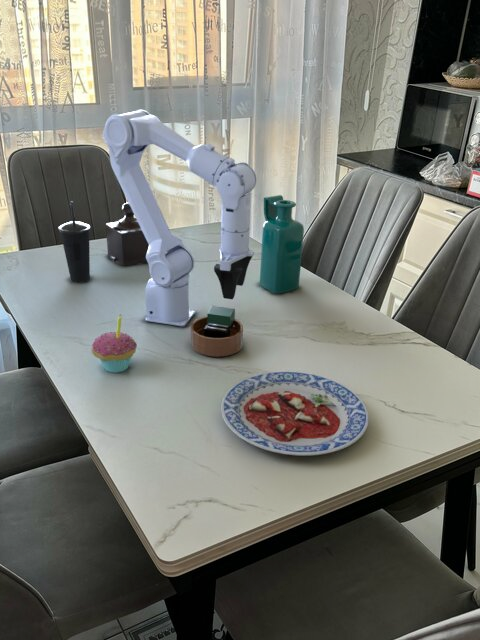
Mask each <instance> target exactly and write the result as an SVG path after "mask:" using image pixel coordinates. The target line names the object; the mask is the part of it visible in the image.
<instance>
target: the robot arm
mask: <svg viewBox="0 0 480 640" xmlns="http://www.w3.org/2000/svg"><path fill="white" fill-rule="evenodd" d="M101 135H102V138H103V140H104V143H105V145H106V147H107V149H108V154H109V160H110V161H109V162H110V166H111V168H112V171H113V173H114V175H115V177H116V180H117V181H118V183H119V185H120V188H121V190H122V192H123V194H124V196H125V198H126V200H128V202H129V204H130V206H131V209H132V211H133V213H134V218H135V217H136V219H137V221H138V223H139V225H140V227H141V229H142V232H143V234H144V236H145V238H146V240H147V242H148V244H149V248H148V251H147V254H146V259H147V264H148V271H149V275H150V278H149V279H148V281H147V283H146V285H145V291H144V292H145V294H144V295H145V297H144V298H145V312H146V313H145V314H146V317H145V319H144V320H145V321H146V322H151V323H156V324H165V325H170V326H176V327H177V326H178V327H185V326H187V324H188V323H189V321H190V320H191V319H192V318H193V316H194V315H195V314H196V311H195V310H192V309H190V290H189V288H190V287H189V285H190V284H189V283H190V281H189V278H190V273H191V272H192V271H193V269H194V267H195V258H194V256H193V254H192V253H191V251H190V250H189V249H188V248H187V247H186V246H185V244H184V243H183V240H182V239H180V238H179V237H177V236H175V235H174V234H172V232H171V230H170V228H169V225H168V223H167V222H166V218H165V217H164V215H163V212H162V210H161V208H160V206H159V204H158V201H157V200H156V198H155V195H154V193H153V191H152V189H151V187H150V185H149V182H148V181H147V178H146V175H145V173H144V171H143V170H142V169H143V168H142V167H141V165H140V163H141V161H142V158H143V154H144V152H145V151H146V150H147V148H148V147H149V146H150V145H155V146H157V147H158V148H160V149H162V150H164V151H166V152H168V153H169V154H171V155H173V156H175V157H177V158H179V159H180V160H183V161H184V162H186V163H187V165H188V169H189V171H190V173H193V174H194V175H196V176H197V177H199V178H200V179H202V180H204V181H205V182H207V183H209V184H211V185H212V186H213V187H215V188H216V190H217V192H218V194H219V196H220V198H221V204H220V205H221V217H220V219H221V220H220V221H221V224H220V225H221V227H220V248H219V256H220V260H219V263H216V264H215V265H214V266H213V271H214V273H215V275H216V276H217V279H218V281H219V284H220V289H221V293H222V297H223V299H224V300H225V299H227V300H234V299H235V295H236V292H237V291H236V290H237V286H241V287H242V286H244V283H245V280H246V275H247V271H248V267H249V265H250V262H251V261H252V258H253V256H254V254H255V250H253V249H250V228H251V227H250V226H251V224H250V223H251V205H252V204H251V203H252V202H251V201H252V200H251V199H252V191H253V190H254V189H255V187H256V184H257V175H256V172H255V170H254V169H253V168H252V167H251V166H250V165H249V164H248V163H247V162H243V161H242V162H236V160H235V159H234V158H233V157H229V158H228V157H227V156H225V155H223V154H222V153H220V152H218V151H217V150H215V148H216V147H215V146H214V145H213V144H211V143H209V144H205V143H202V144H201V143H200V144H199V145H195V144H194V143H192V142H191V141H189V140H188V139H186V138H185V137H183V136H182V135H180V134H179V133H178V132H176V131H175V130H173V129H172V128H171V127H169V126H167V124H164V123H163V122H162V121H161V120H160V118H159V117H158V116H156V115H153V114H150V113H149V111H147V110H144V109H136V110H135V111H131V112H126V113H121V114H112V115H110V116H109V117H108V118H107V119H106V121H105V125H104V128H103V131H102V134H101Z"/></svg>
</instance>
